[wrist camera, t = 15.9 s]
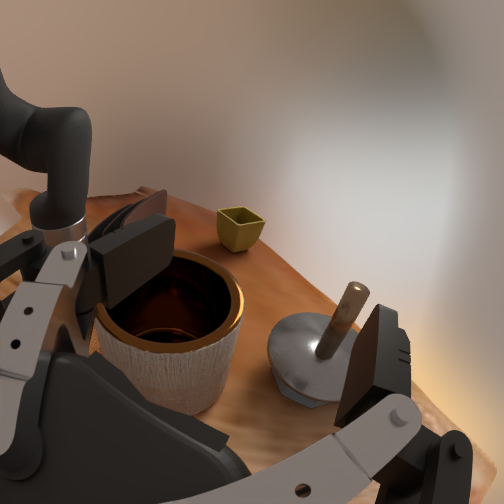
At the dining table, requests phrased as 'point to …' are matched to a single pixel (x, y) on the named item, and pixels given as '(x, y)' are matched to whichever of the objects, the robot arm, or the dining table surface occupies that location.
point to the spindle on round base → (317, 347)
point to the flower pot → (238, 228)
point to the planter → (176, 333)
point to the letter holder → (130, 214)
